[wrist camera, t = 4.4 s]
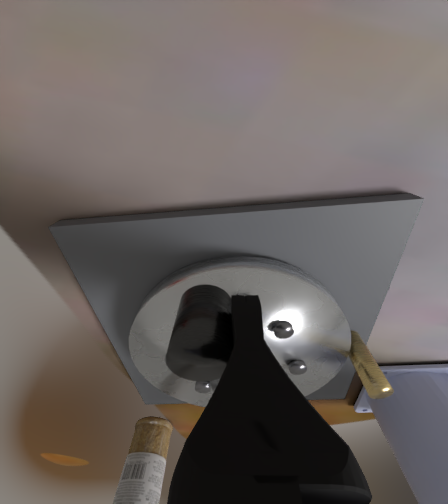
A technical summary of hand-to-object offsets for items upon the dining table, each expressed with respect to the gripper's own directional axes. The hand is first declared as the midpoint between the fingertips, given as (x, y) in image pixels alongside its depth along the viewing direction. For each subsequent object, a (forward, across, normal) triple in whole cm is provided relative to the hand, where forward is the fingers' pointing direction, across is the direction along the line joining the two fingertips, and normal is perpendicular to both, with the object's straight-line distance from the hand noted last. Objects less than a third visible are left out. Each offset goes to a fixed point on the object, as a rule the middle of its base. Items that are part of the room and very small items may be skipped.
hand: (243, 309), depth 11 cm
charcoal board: (+4, 0, +6) cm, 7 cm away
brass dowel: (+4, -8, +6) cm, 11 cm away
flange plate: (+3, 0, +6) cm, 7 cm away
